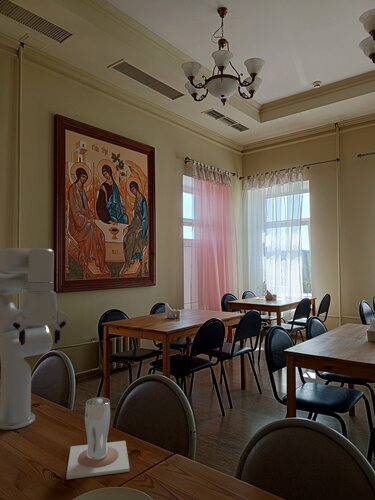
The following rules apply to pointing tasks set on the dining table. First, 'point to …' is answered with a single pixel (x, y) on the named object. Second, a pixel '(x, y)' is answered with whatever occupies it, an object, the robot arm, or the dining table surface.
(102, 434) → the beer glass
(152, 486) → the dining table surface
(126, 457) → the card
